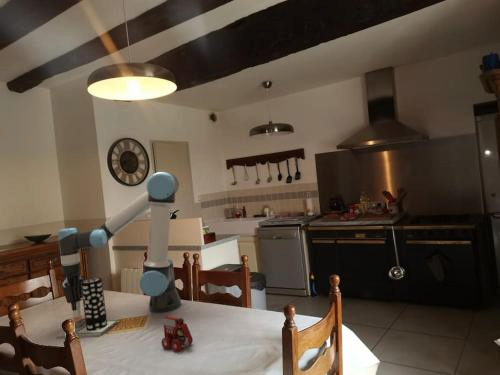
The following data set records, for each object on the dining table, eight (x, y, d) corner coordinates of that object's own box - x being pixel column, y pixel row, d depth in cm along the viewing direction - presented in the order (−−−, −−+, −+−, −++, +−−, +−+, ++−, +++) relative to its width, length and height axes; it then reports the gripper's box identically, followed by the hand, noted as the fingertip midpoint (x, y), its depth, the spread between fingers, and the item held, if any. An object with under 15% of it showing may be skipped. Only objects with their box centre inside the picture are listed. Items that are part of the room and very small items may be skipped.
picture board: (120, 321, 163) (119, 315, 163) (100, 336, 148) (100, 329, 148) (78, 323, 166) (78, 317, 166) (56, 338, 152) (55, 331, 152)
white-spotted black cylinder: (87, 332, 151) (81, 284, 151) (85, 326, 158) (80, 280, 158) (108, 326, 155) (102, 280, 155) (106, 321, 162) (100, 276, 162)
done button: (85, 320, 163) (84, 315, 163) (79, 324, 159) (78, 319, 159) (76, 321, 164) (76, 316, 164) (71, 324, 160) (70, 319, 160)
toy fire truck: (183, 354, 124) (180, 323, 124) (158, 348, 131) (155, 319, 131) (197, 345, 130) (194, 316, 130) (173, 340, 137) (169, 312, 137)
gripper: (72, 260, 168) (78, 311, 169) (52, 267, 155) (59, 322, 156) (87, 259, 167) (93, 310, 167) (68, 266, 154) (75, 322, 154)
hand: (77, 316), depth 161 cm, fingers closed
